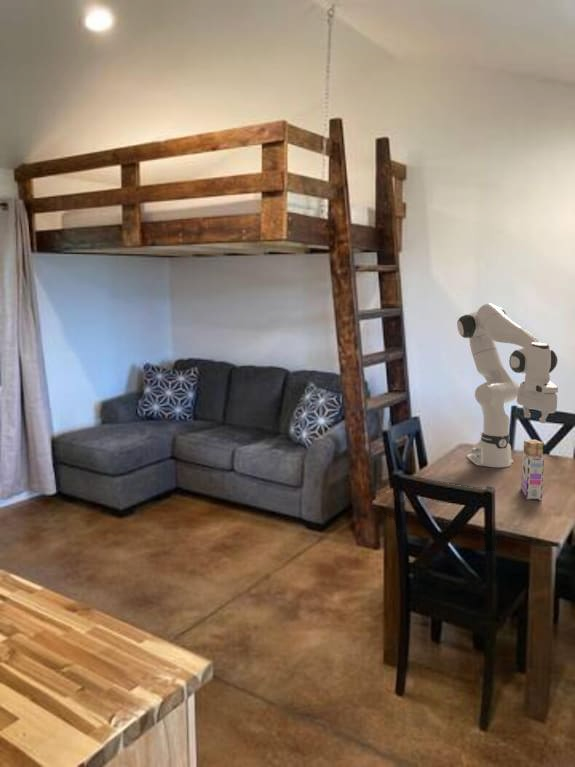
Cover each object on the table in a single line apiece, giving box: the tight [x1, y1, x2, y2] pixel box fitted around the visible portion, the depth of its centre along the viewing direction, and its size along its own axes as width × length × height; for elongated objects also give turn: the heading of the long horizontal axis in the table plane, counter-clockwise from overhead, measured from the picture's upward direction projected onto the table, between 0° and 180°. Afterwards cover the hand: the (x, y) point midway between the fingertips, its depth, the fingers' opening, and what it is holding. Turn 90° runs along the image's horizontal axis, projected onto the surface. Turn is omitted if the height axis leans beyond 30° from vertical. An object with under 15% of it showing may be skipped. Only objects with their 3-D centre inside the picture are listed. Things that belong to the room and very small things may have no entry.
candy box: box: [520, 449, 545, 501], centre depth 244 cm, size 14×6×16 cm, turn 168°
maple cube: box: [523, 439, 544, 456], centre depth 242 cm, size 5×5×5 cm
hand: (534, 420), depth 241 cm, fingers open, 8 cm apart
